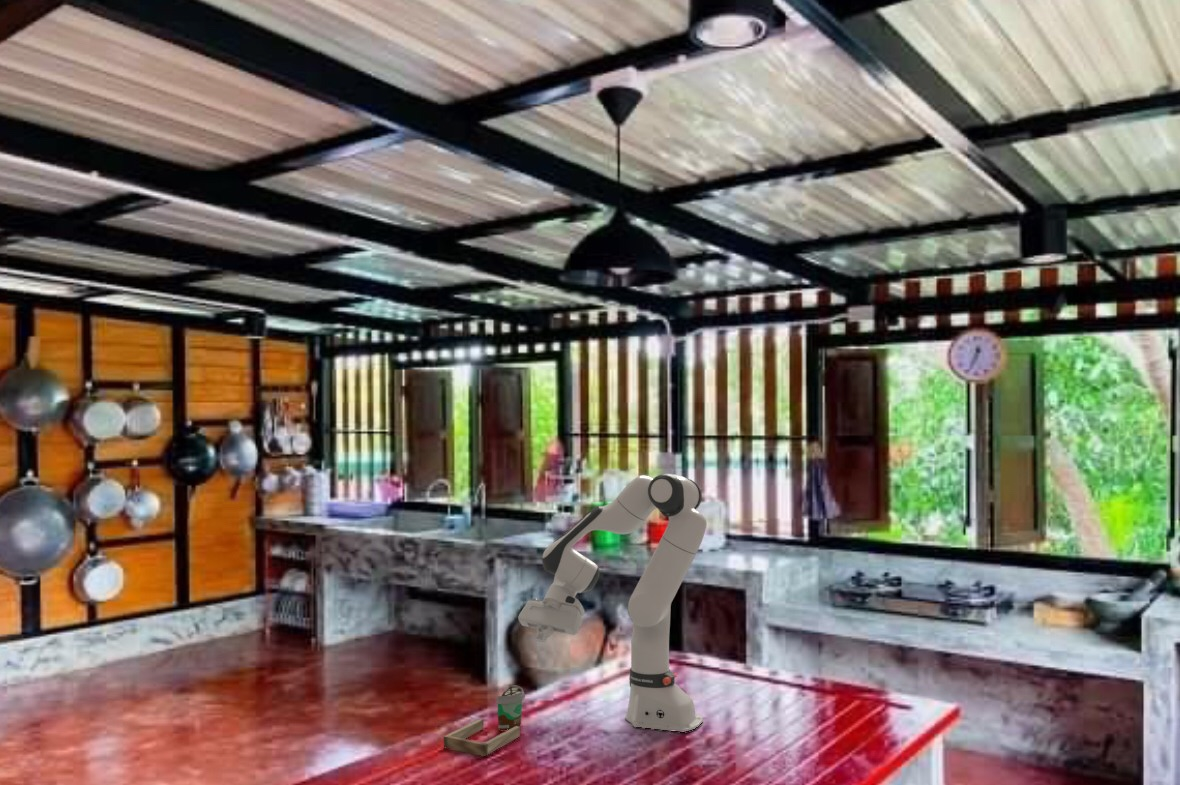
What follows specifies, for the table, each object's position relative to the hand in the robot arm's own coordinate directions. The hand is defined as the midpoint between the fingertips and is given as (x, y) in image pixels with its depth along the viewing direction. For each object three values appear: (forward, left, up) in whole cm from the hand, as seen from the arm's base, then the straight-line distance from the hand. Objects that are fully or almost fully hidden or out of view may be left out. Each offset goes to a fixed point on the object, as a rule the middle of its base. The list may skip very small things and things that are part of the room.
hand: (539, 640), depth 272 cm
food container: (0, +14, -21) cm, 26 cm away
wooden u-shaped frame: (0, +29, -21) cm, 36 cm away
